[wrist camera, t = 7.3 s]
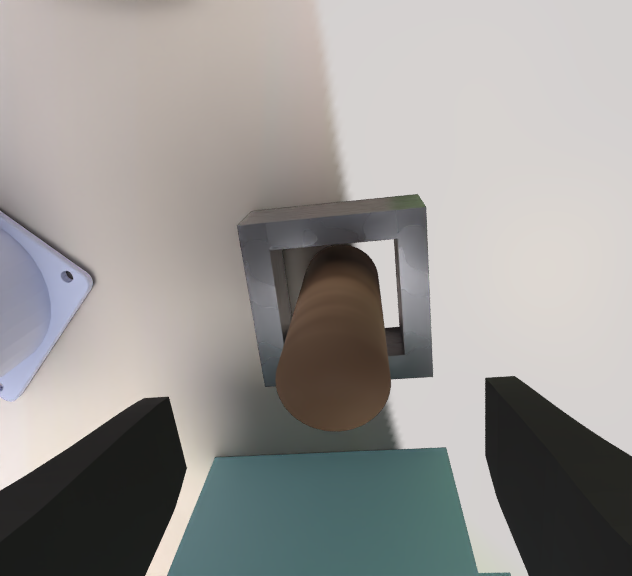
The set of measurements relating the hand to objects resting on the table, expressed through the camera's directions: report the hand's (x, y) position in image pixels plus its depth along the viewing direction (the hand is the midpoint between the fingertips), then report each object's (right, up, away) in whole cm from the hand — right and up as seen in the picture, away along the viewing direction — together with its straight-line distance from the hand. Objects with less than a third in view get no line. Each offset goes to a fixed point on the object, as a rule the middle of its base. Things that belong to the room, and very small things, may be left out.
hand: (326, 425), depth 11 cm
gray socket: (+1, +3, +9) cm, 10 cm away
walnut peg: (+1, +3, +9) cm, 10 cm away
